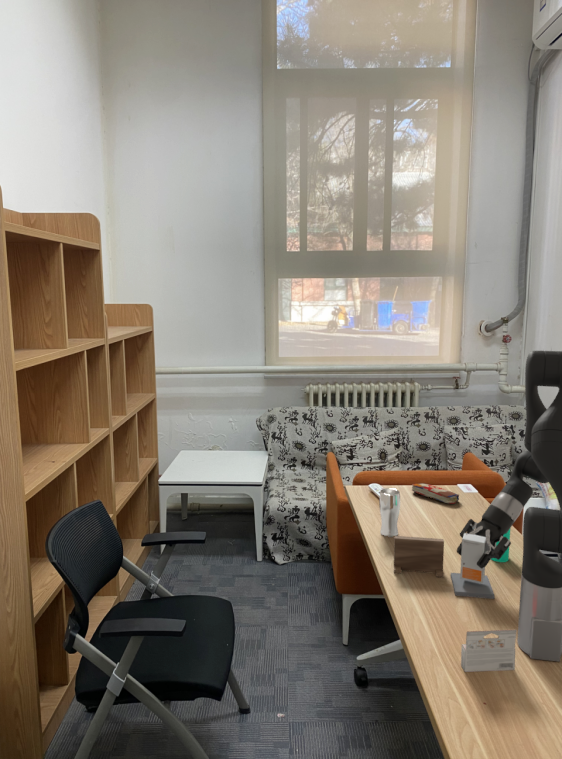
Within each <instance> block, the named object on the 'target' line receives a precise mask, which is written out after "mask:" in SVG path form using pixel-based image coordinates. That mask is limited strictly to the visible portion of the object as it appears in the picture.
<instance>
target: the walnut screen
mask: <svg viewBox="0 0 562 759" xmlns="http://www.w3.org/2000/svg"><path fill="white" fill-rule="evenodd" d="M393 538H394V540H393V541H394V545H393V552H394V553H393V573H394V574H395V575H402V571H405V572H417V573H429V574H435V576H436V578H445V573H444V572H445V571H444V556H445V555H444V554H445V553H444V552H445V551H444V550H445V547H444V546H445V540H444V538H433V537H432V538H431V537H428V538H427V537H418V536H406V535H405V536H403V535H401V536H400V535H397V536H395V537H393Z"/></svg>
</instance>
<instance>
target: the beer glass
mask: <svg viewBox="0 0 562 759" xmlns="http://www.w3.org/2000/svg"><path fill="white" fill-rule="evenodd" d="M379 492H380V493H379V507H378V508H379V513H380V518H381V525H380V526H381V527H380V531H379V532H380V535H382V536H383V535H384V536H383V537H386V536H388V537H387V538H394V537H393V536H399V529H398V520H399V515H400V511H401V494H400V493H401V492H400V490H398V489H396V488H389V487H388V488H387V487H386V488H381V489H380V491H379Z"/></svg>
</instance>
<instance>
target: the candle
mask: <svg viewBox="0 0 562 759" xmlns="http://www.w3.org/2000/svg"><path fill="white" fill-rule="evenodd" d="M503 537H506V538H508V539H509V541H510V542H511V528H510V529H509V530H508V532H507V533H506V534H504V535H503ZM498 543H499V542H496V546H497V545H498ZM509 560H510V546H509V547H508V549H507V550H506V551H505V553H504V554H503V555H502V557H501V558H500V559H499V560H498V559H496V558H492V559H491V560H490V561H493V562H497V563H506V562H508V561H509Z"/></svg>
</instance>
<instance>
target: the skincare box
mask: <svg viewBox="0 0 562 759" xmlns="http://www.w3.org/2000/svg"><path fill="white" fill-rule="evenodd" d="M466 533H467V532H466ZM466 533H464V535H463V538H462V537H461V542H462V552H461V555H460V557H461V558H460V578H461V579H465V580H470V581H474V582H478V583H483V580H484V575H485V573H486V567H483V568H482V569H481V568H480V567H479V566H478V565H477V562H478V561H479V559H480V558H481V556H482V555H483V553H486V545H485V543H486V537H483V536H478V535H472V534H466Z"/></svg>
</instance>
